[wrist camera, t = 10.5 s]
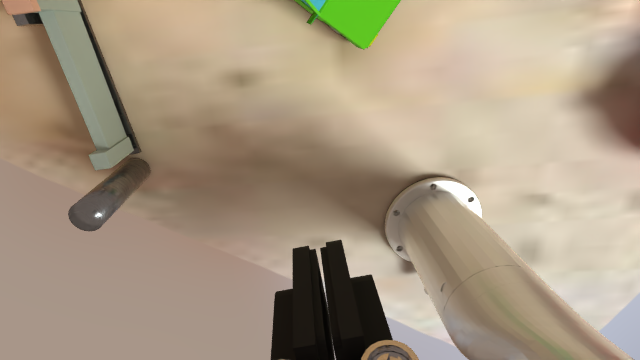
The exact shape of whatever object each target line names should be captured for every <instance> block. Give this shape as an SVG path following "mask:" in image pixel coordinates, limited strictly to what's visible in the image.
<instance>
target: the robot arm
mask: <svg viewBox="0 0 640 360" xmlns="http://www.w3.org/2000/svg"><path fill="white" fill-rule="evenodd" d="M431 184H432V185H431ZM395 210H396V211H395ZM385 234H386V238H387V240H388V242H389V244H390V246H391V248H392V249H393V251H394V252H395V253H396V254H397V255H398V256H400V257H402V258H403V259H405V260H407V261H410V262H412V263H413V265H414V267H415V269H416V271H417V273H418V275H419V277H420V279H421V281H422V283H423V285H424V290H425V293H427V294H428V295H429V296H430V298H431V300H432V302H433V304H434V306H435V308H436V310H437V312H438V314H439V316H440V318H441V320H442V322H443V324H444V326H445V328H446V330H447V332H448V334H449V336H450V337H451V339H452V341H453V343H454V344H455V346H456V347H457V348H458V349H459V350H460V352H461V353H462V354H463V355H464V356H465V357H466V358H467V359H469V360H634V359H633V358H631V357H630V356H629V355H628V354H626V353H625V352H624V351H622V350H621V349H620V348H618V347H617V346H616V345H615V344H613V343H612V342H611V341H609V340H608V339H607V338H606V337H604V336H603V335H602V334H601V333H600V332H598V331H597V330H596V329H595V328H594V327H592V326H591V325H590V324H589V323H588V322H586V321H585V320H584V319H583V318H582V317H581V316H580V315H579V314H577V313H576V312H575V311H574V310H573V309H572V308H571V307H570V306H569V305H568V304H567V303H566V302H565V301H564V300H563V299H562V298H560V297H559V296H558V295H557V294H556V293H555V292H554V291H553V290H552V289H551V288H550V287H549V286H548V285H547V284H546V283H545V282H544V281H543V280H542V279H541V278H540V277H539V276H538V275H537V274H536V273H535V272H534V271H533V270H532V269H531V268H530V267H529V266H528V265H527V264H526V263H525V262H524V261H523V260H522V259H521V258H520V257H519V256H518V255H517V254H516V253H515V252H514V251H513V250H512V249H511V248H510V247H509V246H508V245H507V244H506V243H505V242H504V241H503V240H502V239H501V238H500V237H499V236H498V234H497V233H496V232H495V231H494V230H493V229H492V228H491V227H490V226H489V225H488V224H487V223H486V222H485V221H484V220H483V219H482V209H481V205H480V202H479V200H478V198H477V196H476V195H475V193H474V192H473V191H472V190H471V189H470V188H468V187H467V186H466V185H465V184H463V183H461V182H459V181H457V180H455V179H451V178H444V177H435V178H428V179H425V180H422V181H419V182H417V183H415V184H413V185H411V186H409V187H408V188H406V189H405V190H403V191H402V192H401V193H400V194H399V195H398V196H397V197H396V198H395V200H394V201H393V202H392V204H391V205H390V207H389V209H388V212H387V214H386V218H385ZM320 250H321V257H322V265H323V273H324V281H325V288H326V296H327V302H326V297H325V293H324V288H323V283H322V278H321V273H320V268H319V263H318V258H317V254H316V249H312V250H310V249H309V246H304V247H299V248H293V289H288V290H283V291H277V292H276V293H275V301H274V317H273V334H272V349H271V360H335V358H334V351H335V356H336V360H419V359H418V357H417V355H416V354H415V353H414V352H413V350H412V349H411V348H409V347H408V346H407V345H405V344H403V343H401V342H398V341H393V339H392V336H391V333H390V330H389V327H388V324H387V321H386V317H385V314H384V311H383V308H382V305H381V302H380V299H379V296H378V293H377V289H376V286H375V283H374V280H373V277H372V275H365V276H360V277H354V278H350V275H349V271H348V266H347V262H346V258H345V254H344V249H343V245H342V241H341V240H337V241H332V242H326V247H323V248H320ZM327 304H328V307H327ZM328 312H329V313H328ZM331 334H332V335H331ZM332 341H333V342H332ZM333 346H334V350H333Z"/></svg>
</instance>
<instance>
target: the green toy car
mask: <svg viewBox="0 0 640 360" xmlns="http://www.w3.org/2000/svg"><path fill="white" fill-rule="evenodd" d="M294 1H296V2H297V3H298V4H300V5H301V6H302V7H303V8H305V9H306V10H307V11H309V12H310V13H311V14H312V15H311V17H310V18H309V20H308V21H307V23H309V24H312V23H313V22H314V20H315V19H316V18H318V19H319V20H320V21H323V22H324V23H326V24H327V25H328V26H330V28H331V29H333V30H334V31H335V32H337V33H338V34H340V35H341V36H343V37H344V38H346V39H347V40H348V41H350V42H351V43H352V44H354V45H355V46H356V47H358V48H361V49H365V48H368V46H371V44H372V43H373V41H374V40H375V39H376V37H377V36H378V32H379V31H380V29H381V28H382V26H383V25H384V24H385V22H386V21H387V19H388V18H389V17H390V15H391V14H392V12H393V11H394V9H395V8H396V7H397V5H398V4H399V2H400V1H401V0H294Z"/></svg>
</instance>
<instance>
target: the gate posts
mask: <svg viewBox="0 0 640 360" xmlns="http://www.w3.org/2000/svg"><path fill="white" fill-rule="evenodd" d="M77 1H78V3H79V6H80V8H81V11H82V12H80V14H81V17H82V20H83V22H84V25H85V28H86V30H87V33H88V36H89V38H90V41H91V43H92V46H93V49H94V51H95V54H96V57H97V59H98V62H99V65H100V67H101V70H102V72H103V75H104V78H105V80H106V83H107V86H108V88H109V91H110V94H111V96H112V99H113V101H114V104H115V107H116V109H117V112H118V115H119V117H120V120H121V123H122V125H123V128H124V130H125V133H126V136H127V137H129V138H130V141H131V144H132V146H133V149H134V151H133V152H131V153H130V154H136V153H140V152H141V149H140V147H139V144H138V142H137V139H136V137H135V134H134V132H133V129H132V127H131V124H130V122H129V119H128V117H127V114H126V112H125V109H124V107H123V104H122V102H121V100H120V97H119V95H118V92H117V90H116V87H115V85H114V82H113V80H112V77H111V75H110V72H109V70H108V67H107V65H106V62H105V60H104V57H103V55H102V52H101V50H100V47H99V45H98V42H97V40H96V37H95V35H94V32H93V30H92V27H91V25H90V22H89V20H88V17H87V15H86V12H85V10H84V7H83V5H82V2H81V0H77ZM12 16H13V18H14V20H15V22H16V24H17V26H44V24H43V22H42V20H41V17H40V15H39V13H33V12H32V13H25V14H18V15H12ZM130 154H129V155H130ZM149 175H150V167H149V165H148V164H147V163H146V162H145V161H143V160H142V159H138V158H132V159H130V160H128V161H127V162H126V163H124V164H123V165H122V166H121V167H120V168H118V169H117V170H116V171H115V172H113V173H112V174H111V175H110V176H109V177H107V178H106V179H105V180H104V181H102V182H101V183H100V184H99V185H98V186H96V187H95V188H94V189H93V190H91V191H90V192H89V193H88V194H87V195H85V196H84V197H83V198H82V199H80V200H79V201H78V202H77V203H76V204H74V205H73V206H72V207H71V208H70V210H69V213H68V215H69V219H70V221H71V222H72V224H73V225H74V226H76V227H77V228H79V229H81V230H84V231H95V230H97V229H99V228H100V227H101V226H102V225H103V224H104V223H105V222H106V221H107V220H108V219H109V218H110V217H111V216H112V214H113V213H114V212H115V211H116V210H117V209H118V208H119V207H120V206H121V205H122V204H123V203H124V202H125V201H126V200H127V199H128V198H129V197H130V196H131V195H132V194H133V193H134V191H135V190H136V189H137V188H138V187H139V186H140V185H141V184H142V183H143V182H144V181H145V180H146V179H147V178H148V177H149Z"/></svg>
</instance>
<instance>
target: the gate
mask: <svg viewBox="0 0 640 360" xmlns="http://www.w3.org/2000/svg"><path fill="white" fill-rule="evenodd" d="M2 3H3V5H4V7H5V9H6V11H7V14H9V15H18V14H25V13H32V12H33V13H39V15H40V17H41V20H42V22H43V24H44V27H45V29H46V31H47V34H48V36H49V38H50V41H51V43H52V45H53V48H54V50H55V53H56V55H57V57H58V60H59V62H60V64H61V67H62V69H63V71H64V74H65V76H66V79H67V81H68V83H69V86H70V88H71V90H72V93H73V95H74V97H75V100H76V102H77V105H78V107H79V109H80V112H81V114H82V116H83V119H84V121H85V123H86V126H87V128H88V130H89V133H90V135H91V138H92V140H93V142H94V145H95V147H96V149H97V150H96V151H94V152H92V153H91V154H89V157H90V160H91V162H92V164H93V167H94V169H95V170H102V169H108V168H112V167H114V166H115V165H116V164H117V163H119V162H120V161H121V160H122V159H124V158H125V157H126V156H128V155H129V154H130V153H131V152H133V151H134V149H133V146H132V144H131V141H130V138H129V137H127V136H126V133H125V130H124V128H123V125H122V123H121V120H120V117H119V115H118V112H117V109H116V107H115V104H114V101H113V99H112V96H111V94H110V91H109V88H108V86H107V83H106V80H105V78H104V75H103V72H102V70H101V67H100V65H99V62H98V59H97V57H96V54H95V51H94V49H93V46H92V43H91V41H90V38H89V36H88V33H87V30H86V28H85V25H84V22H83V20H82V17H81V14H80V12H82V11H81V8H80V6H79V3H78V1H77V0H2Z"/></svg>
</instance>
